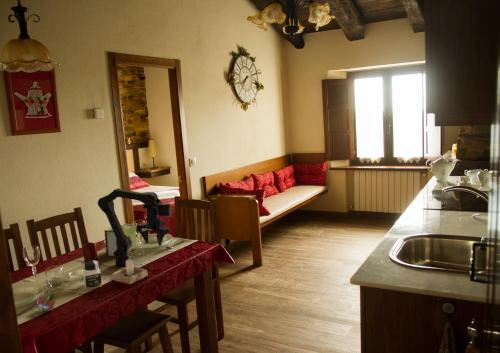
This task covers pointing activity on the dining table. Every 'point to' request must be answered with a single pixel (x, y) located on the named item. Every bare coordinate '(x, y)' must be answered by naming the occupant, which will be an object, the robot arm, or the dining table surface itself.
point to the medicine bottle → (92, 275)
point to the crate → (122, 277)
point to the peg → (129, 268)
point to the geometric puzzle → (45, 303)
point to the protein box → (111, 239)
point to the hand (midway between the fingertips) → (153, 244)
